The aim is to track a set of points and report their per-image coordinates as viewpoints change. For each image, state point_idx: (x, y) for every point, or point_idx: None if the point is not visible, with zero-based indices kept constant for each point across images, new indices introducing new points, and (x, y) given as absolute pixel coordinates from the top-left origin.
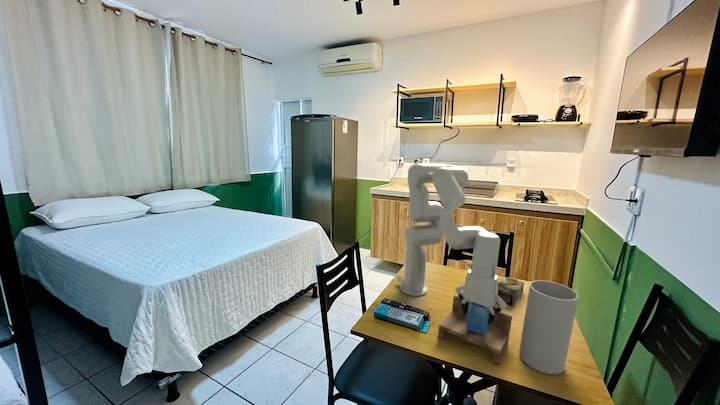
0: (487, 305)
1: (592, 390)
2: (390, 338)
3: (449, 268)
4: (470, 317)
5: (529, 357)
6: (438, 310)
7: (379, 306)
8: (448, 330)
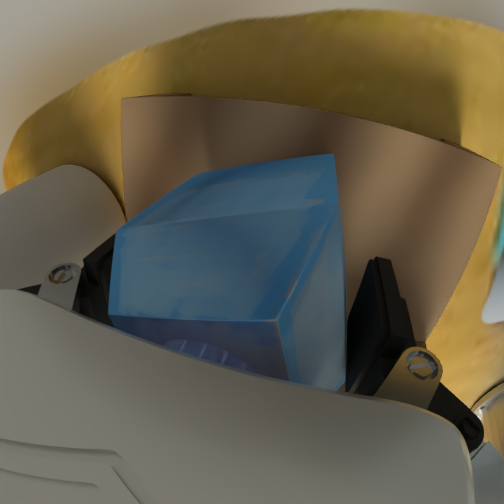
0: (13, 309)
1: (11, 179)
2: None
3: None
4: (306, 188)
5: (72, 182)
6: (452, 348)
7: None
8: (443, 142)
